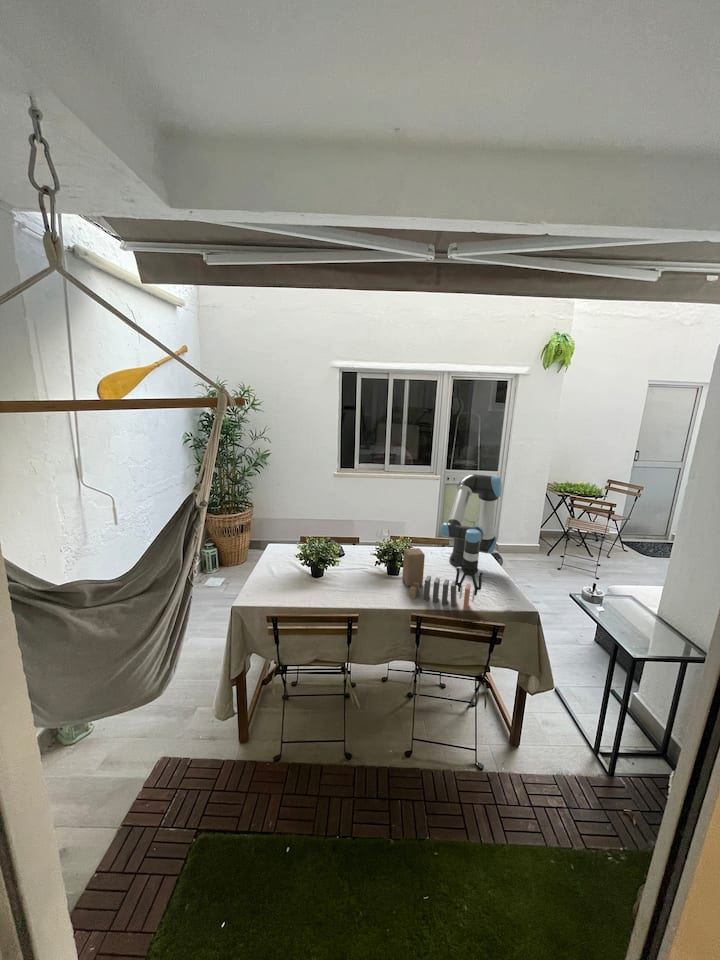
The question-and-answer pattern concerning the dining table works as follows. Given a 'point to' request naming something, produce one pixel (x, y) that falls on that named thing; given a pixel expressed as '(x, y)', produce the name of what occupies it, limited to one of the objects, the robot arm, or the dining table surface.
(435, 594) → the domino
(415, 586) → the end stop
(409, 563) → the block
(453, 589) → the domino
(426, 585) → the domino
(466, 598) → the domino
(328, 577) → the dining table surface
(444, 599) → the domino
